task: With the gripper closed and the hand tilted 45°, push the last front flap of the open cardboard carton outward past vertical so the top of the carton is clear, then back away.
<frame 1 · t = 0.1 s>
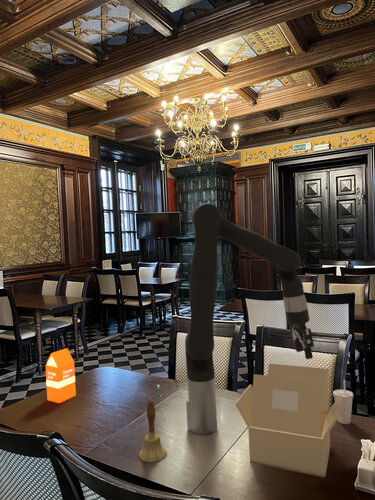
hand: (304, 354, 130), 22 cm above the table, tool pointing down, fingers open, 8 cm apart
smoothie: (344, 422, 128), on the table
front flap: (284, 404, 105), point 17 cm above the table, hinge at 65.0°
hand bell: (152, 455, 113), on the table
orange juice: (61, 398, 161), on the table
carton: (291, 454, 110), on the table
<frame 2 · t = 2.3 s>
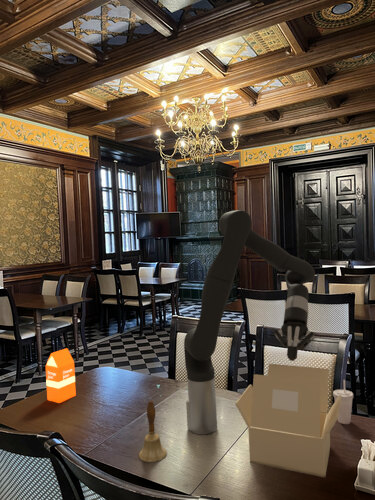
hand: (291, 359, 117), 25 cm above the table, tool tilted 45°, fingers closed
nothing on the table moved.
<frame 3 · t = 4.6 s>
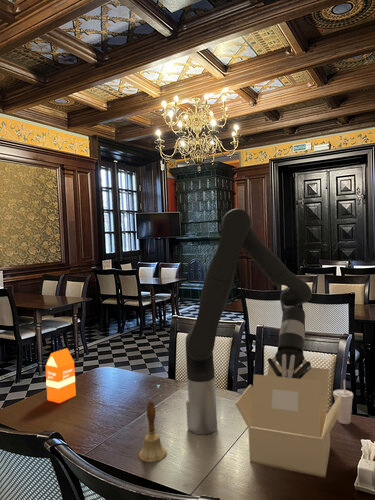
hand: (286, 392, 107), 19 cm above the table, tool tilted 45°, fingers closed
front flap: (284, 404, 105), point 17 cm above the table, hinge at 65.4°, touching gripper
everything else where it was.
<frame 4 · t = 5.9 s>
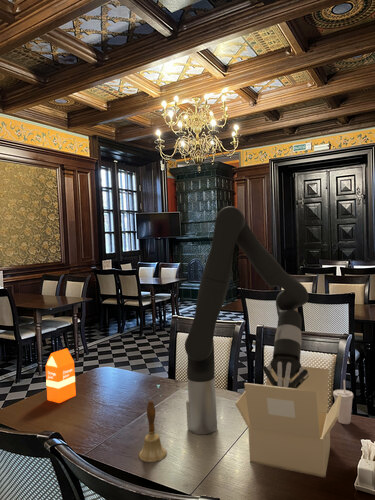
hand: (282, 402, 100), 19 cm above the table, tool tilted 45°, fingers closed
front flap: (281, 410, 100), point 17 cm above the table, hinge at 104.9°, touching gripper
everything else where it was.
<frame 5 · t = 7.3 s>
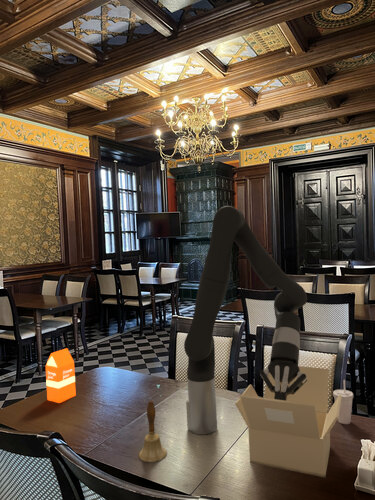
hand: (279, 408, 97), 19 cm above the table, tool tilted 45°, fingers closed
front flap: (280, 417, 99), point 16 cm above the table, hinge at 122.9°, touching gripper
everything else where it was.
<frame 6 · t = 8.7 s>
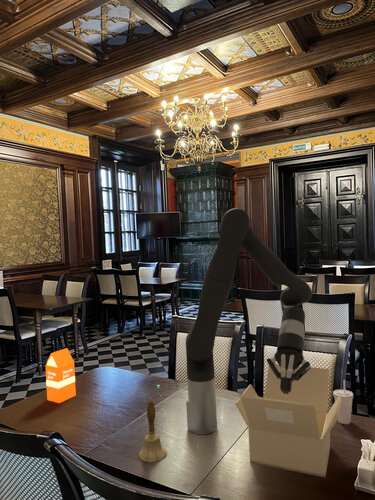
hand: (285, 392, 106), 20 cm above the table, tool tilted 45°, fingers closed
front flap: (280, 417, 99), point 16 cm above the table, hinge at 123.0°
everything else where it was.
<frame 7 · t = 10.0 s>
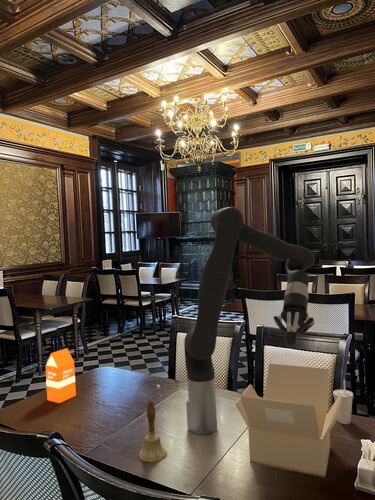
hand: (290, 344, 116), 30 cm above the table, tool tilted 45°, fingers closed
nothing on the table moved.
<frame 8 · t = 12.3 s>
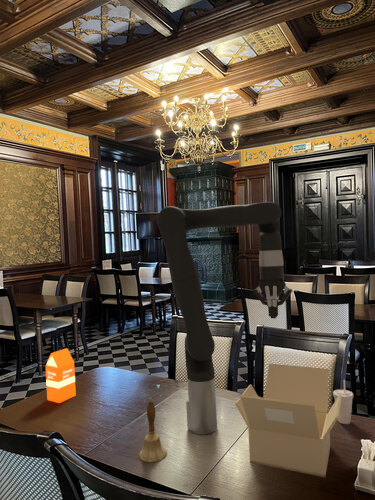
hand: (273, 317, 123), 37 cm above the table, tool pointing down, fingers closed
nothing on the table moved.
at the end: front flap at +123° (first picture: +65°) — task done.
